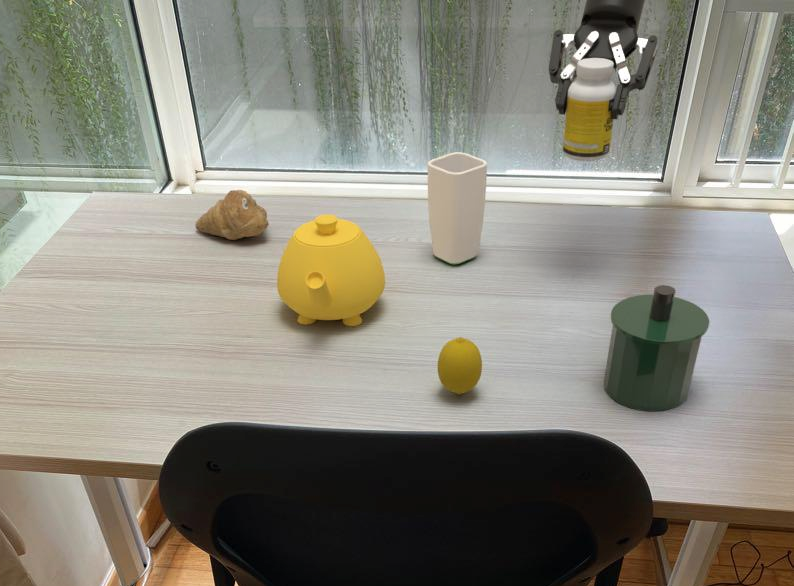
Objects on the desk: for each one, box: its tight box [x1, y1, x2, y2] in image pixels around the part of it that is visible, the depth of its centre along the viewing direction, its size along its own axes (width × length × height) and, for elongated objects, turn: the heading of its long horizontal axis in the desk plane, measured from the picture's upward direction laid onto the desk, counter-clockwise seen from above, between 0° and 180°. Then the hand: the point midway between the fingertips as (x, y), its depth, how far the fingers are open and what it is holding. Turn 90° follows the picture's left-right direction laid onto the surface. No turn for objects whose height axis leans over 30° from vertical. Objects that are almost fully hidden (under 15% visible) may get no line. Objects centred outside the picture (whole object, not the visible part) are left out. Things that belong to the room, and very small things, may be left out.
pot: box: [603, 325, 703, 412], centre depth 108 cm, size 10×10×10 cm
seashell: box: [195, 189, 270, 241], centre depth 147 cm, size 14×8×8 cm
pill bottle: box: [562, 58, 617, 162], centre depth 118 cm, size 6×6×12 cm
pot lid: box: [610, 284, 710, 345], centre depth 104 cm, size 11×11×5 cm
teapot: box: [276, 213, 386, 327], centre depth 123 cm, size 20×16×14 cm
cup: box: [427, 151, 488, 266], centre depth 135 cm, size 7×7×15 cm
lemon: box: [437, 336, 483, 395], centre depth 109 cm, size 6×6×8 cm
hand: (587, 113), depth 117 cm, fingers closed on pill bottle, 6 cm apart
